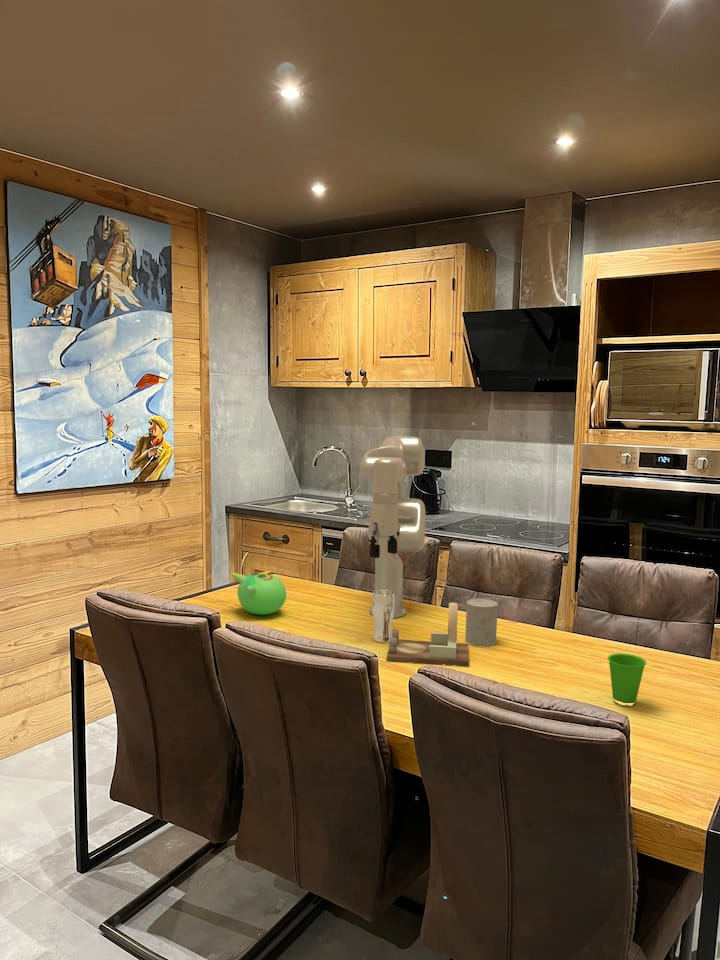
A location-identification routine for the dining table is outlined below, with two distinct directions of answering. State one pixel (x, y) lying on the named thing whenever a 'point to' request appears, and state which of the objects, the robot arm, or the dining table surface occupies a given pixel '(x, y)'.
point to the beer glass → (383, 614)
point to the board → (422, 652)
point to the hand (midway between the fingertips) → (383, 555)
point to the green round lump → (260, 592)
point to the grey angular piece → (446, 637)
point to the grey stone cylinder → (481, 622)
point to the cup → (625, 676)
